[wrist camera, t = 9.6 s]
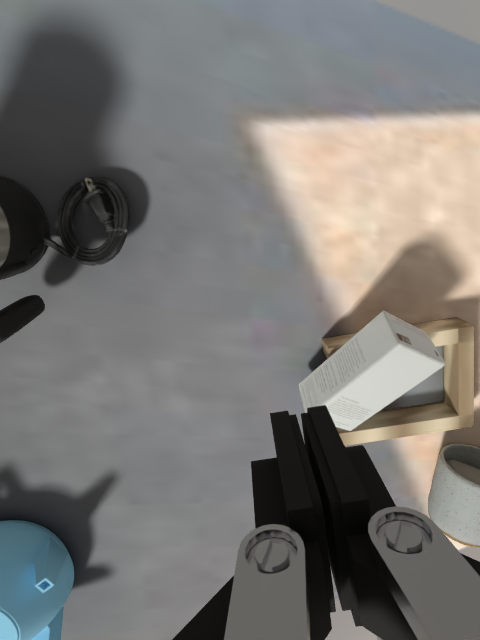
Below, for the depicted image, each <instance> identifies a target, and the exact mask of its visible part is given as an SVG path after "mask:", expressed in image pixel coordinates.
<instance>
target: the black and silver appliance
mask: <svg viewBox="0 0 480 640" xmlns="http://www.w3.org/2000/svg"><path fill="white" fill-rule="evenodd" d="M87 191H89V194H87V195H86V197H84V198H83V200H84V202H85V203H89V204H90V206H91V208H92V209H93V210H94V212H95V213H96V214H97V216H98V218H99V221H100V222H101V223H103V224H104V225H105V230H106V232H108V233H109V235H108V238H107V240H106V241H105V243H104V244H103V245H102V246H100V247H98V248H96V249H86V248H84V247H83V246H81V245H80V244H79V243H78V242H77V240H76V239H75V237H74V234H73V230H72V216H73V212H74V208H75V206H76V204H77V202H78V201H79V199H80V198H81V197H82V196H83V195H84V194H85V193H86V192H87ZM111 200H112V202H111ZM112 203H113V204H112ZM113 205H114V207H113ZM129 222H130V209H129V204H128V200H127V197H126V196H125V194H124V192H123V191H122V189H121V188H120V187H119V186H118V185H117V184H116V183H114V182H113V181H111V180H109V179H107V178H104V177H87V178H85V179H83V180H81V181H80V182H78V183H76V184H75V185H73V186H72V187H71V188H70V189H69V190H68V191H67V192H66V194H65V195H64V197H63V199H62V203H61V207H60V209H59V213H58V230H59V233H60V237H61V240H62V242H63V244H64V246H65V249H64V248H63V247H61V246H60V245H58V244H57V243H56V242H54V241H53V240H51V239H49V238H48V234H49V231H48V224H47V219H46V216H45V214H44V211H43V209H42V207H41V205H40V204H39V202H38V201H37V199H36V198H35V197H34V196H33V194H32V193H30V192H29V191H28V190H27V189H26V188H25V187H24V186H22V185H21V184H19V183H17V182H15V181H14V180H11V179H9V178H6V177H2V176H0V280H1V279H5V278H9V277H11V276H14V275H16V274H19V273H22V272H25V271H27V270H29V269H30V268H32V267H33V266H34V265H35V264H36V263H38V261H39V260H40V259H41V257H42V256H43V254H44V252H45V250H46V247H47V246H50V247H52V248H54V249H55V250H57V251H59V252H60V253H62V254H64V255H66V256H68V257H70V258H72V259H73V260H75V261H78V262H80V263H82V264H86V265H92V266H95V265H101V264H105V263H107V262H108V261H110V260H112V259H113V258H114V257H115V256H116V255H117V254H118V253H119V252H120V250H121V248H122V246H123V244H124V242H125V239H126V236H127V233H128V229H129ZM44 309H45V304H44V302H43V300H42V299H41V298H40V296H37V295H31V296H27V297H24V298H22V299H20V300H18V301H16V302H14V303H12V304H11V305H9V306H7V307H6V308H4V309H2V310H0V343H1V342H3V341H4V340H6V339H7V338H9V337H10V336H11V335H13V334H14V333H16V332H17V331H19V330H20V329H21V328H23V327H24V326H25V325H27V324H28V323H29V322H30V321H32V320H33V319H34V318H36V317H37V316H38V315H40V314H41V313H42V312H43V311H44Z"/></svg>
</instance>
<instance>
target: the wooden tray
mask: <svg viewBox="0 0 480 640" xmlns="http://www.w3.org/2000/svg"><path fill="white" fill-rule="evenodd" d="M412 325H413V326H415V327H417V328H419V329H421V330H423V331H425V332H426V334H427V335H428V336H429V338H430V339H431V341H432V342H433V344H434V345H435V347H436V349H437V350H438V352H439V353H440V355H441V356H442V358H443V360H444V362H445V366H443V367H444V394H443V367H442V368H441V369H439V370H438V371H436V372H435V373H433V374H432V375H431V376H429V377H428V378H426V379H425V380H423V381H422V382H420V383H419V384H418V385H416V386H415V387H413V388H412V389H410V390H409V391H407V392H406V393H404V394H403V395H402V396H400V397H399V398H397V399H396V400H394V401H393V402H391V403H390V404H389V405H387V406H386V407H384V408H383V409H382V410H388V409H394V410H388V411H381V410H380V411H381V412H377V413H376V414H374V415H373V416H372V417H370V418H369V419H367V420H366V421H364V422H363V423H361V424H360V425H359V426H357V427H356V428H354V429H353V430H351V431H348V430H345V429H341V428H338V427H336V428H337V431H338V433H339V435H340V437H341V439H342V441H343V444H344V446H346V445H353V444H359V443H366V442H373V441H380V440H387V439H393V438H400V437H407V436H414V435H420V434H427V433H434V432H441V431H448V430H454V429H461V428H468V427H474V326H473V325H471V324H469V323H467V322H465V321H463V320H461V319H459V318H451V319H444V320H438V321H432V322H425V323H419V324H412ZM355 334H357V333H354V334H348V335H341V336H335V337H329V338H322V344H323V352H324V354H325V356H326V357H327V359H328V358H329V357H330V356H331V355H332V354H334V353H335V352H336V351H337V350H338V349H339V348H341V347H342V346H343V345H344V344H345V343H346V342H347V341H348V340H350V339H351V338H352V337H353V336H354V335H355ZM442 401H444V402H442ZM435 402H441V403H435ZM428 403H434V404H428ZM422 404H428V405H422ZM415 405H421V406H415ZM408 406H414V407H408ZM401 407H408V408H401ZM395 408H401V409H395Z"/></svg>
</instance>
